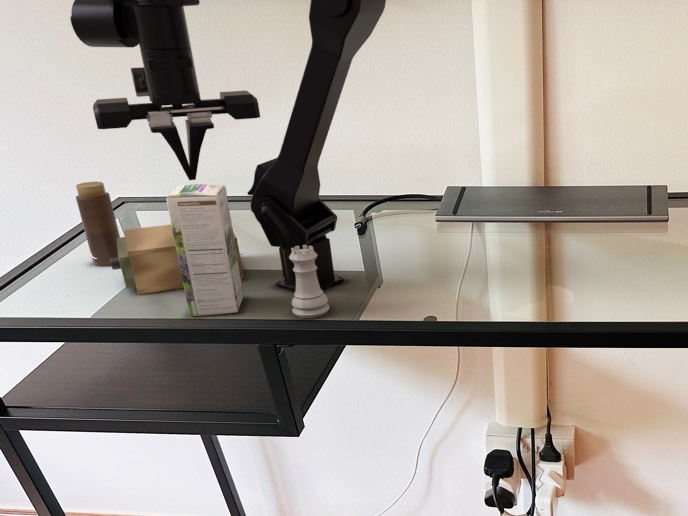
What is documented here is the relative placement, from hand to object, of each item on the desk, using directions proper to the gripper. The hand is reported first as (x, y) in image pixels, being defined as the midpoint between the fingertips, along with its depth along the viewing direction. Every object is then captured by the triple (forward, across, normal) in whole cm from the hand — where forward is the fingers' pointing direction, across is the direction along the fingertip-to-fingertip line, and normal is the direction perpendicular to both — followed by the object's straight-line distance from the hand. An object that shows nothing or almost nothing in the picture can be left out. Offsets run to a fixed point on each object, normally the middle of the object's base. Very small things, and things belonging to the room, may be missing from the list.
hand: (192, 179), depth 107 cm
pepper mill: (+13, +12, -14) cm, 23 cm away
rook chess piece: (+13, -9, +20) cm, 26 cm away
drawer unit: (+13, +3, -2) cm, 13 cm away
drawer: (+12, +5, -2) cm, 13 cm away
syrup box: (+13, +1, +13) cm, 19 cm away
